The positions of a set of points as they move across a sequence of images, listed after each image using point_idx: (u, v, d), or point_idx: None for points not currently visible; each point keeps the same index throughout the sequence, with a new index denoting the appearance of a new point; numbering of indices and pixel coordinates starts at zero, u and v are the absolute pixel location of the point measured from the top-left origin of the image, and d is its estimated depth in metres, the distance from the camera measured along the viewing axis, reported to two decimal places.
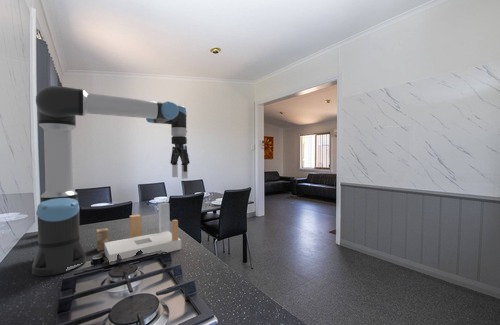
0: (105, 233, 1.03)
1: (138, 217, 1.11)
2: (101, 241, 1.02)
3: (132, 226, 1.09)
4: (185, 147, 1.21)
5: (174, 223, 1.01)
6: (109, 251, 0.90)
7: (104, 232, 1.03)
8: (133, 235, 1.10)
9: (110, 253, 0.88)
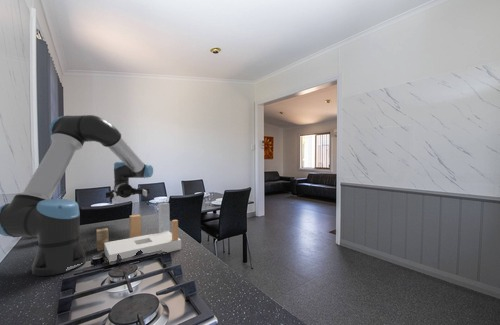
0: (105, 233, 1.03)
1: (138, 217, 1.11)
2: (101, 241, 1.02)
3: (132, 226, 1.09)
4: None
5: (174, 223, 1.01)
6: (109, 251, 0.90)
7: (104, 232, 1.03)
8: (133, 235, 1.10)
9: (110, 253, 0.88)
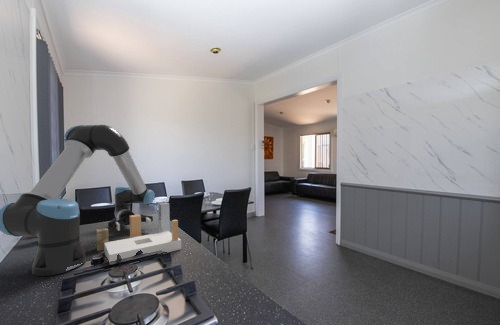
0: (105, 233, 1.03)
1: (138, 217, 1.11)
2: (101, 241, 1.02)
3: (132, 226, 1.09)
4: None
5: (174, 223, 1.01)
6: (109, 251, 0.90)
7: (104, 232, 1.03)
8: (133, 235, 1.10)
9: (110, 253, 0.88)
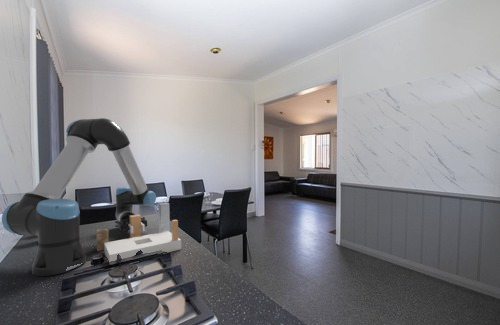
0: (105, 233, 1.03)
1: (138, 217, 1.11)
2: (101, 241, 1.02)
3: None
4: None
5: (174, 223, 1.01)
6: (109, 251, 0.90)
7: (104, 232, 1.03)
8: (133, 235, 1.10)
9: (110, 253, 0.88)
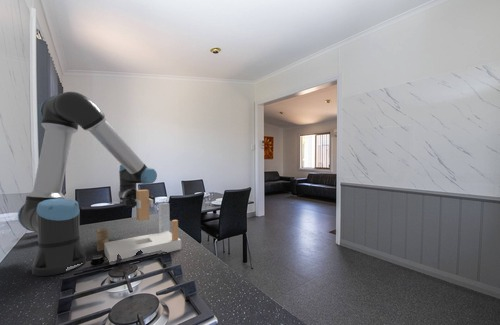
0: (105, 233, 1.03)
1: (146, 191, 1.00)
2: (101, 241, 1.02)
3: None
4: None
5: (174, 223, 1.01)
6: (109, 251, 0.90)
7: (104, 232, 1.03)
8: (140, 211, 0.99)
9: (110, 253, 0.88)
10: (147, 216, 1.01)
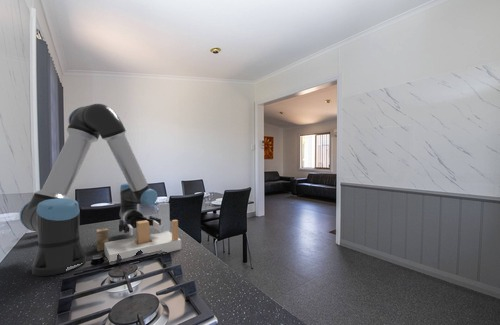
0: (105, 233, 1.03)
1: (146, 223, 1.00)
2: (101, 241, 1.02)
3: (139, 233, 0.98)
4: None
5: (174, 223, 1.01)
6: (109, 251, 0.90)
7: (104, 232, 1.03)
8: (140, 243, 0.98)
9: (110, 253, 0.88)
10: None
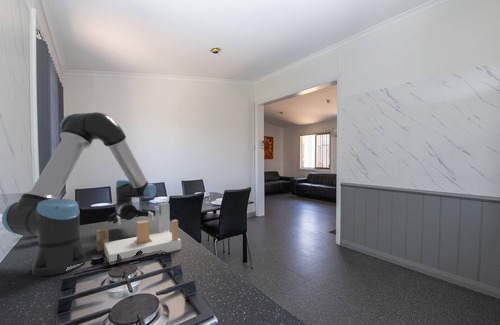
0: (105, 233, 1.03)
1: (146, 223, 1.00)
2: (101, 241, 1.02)
3: (139, 233, 0.98)
4: None
5: (174, 223, 1.01)
6: (109, 251, 0.90)
7: (104, 232, 1.03)
8: (140, 243, 0.98)
9: (110, 253, 0.88)
10: None
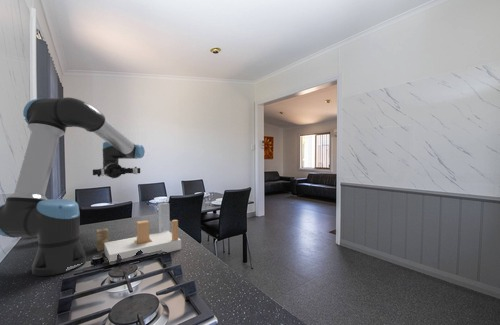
0: (105, 233, 1.03)
1: (146, 223, 1.00)
2: (101, 241, 1.02)
3: (139, 233, 0.98)
4: None
5: (174, 223, 1.01)
6: (109, 251, 0.90)
7: (104, 232, 1.03)
8: (140, 243, 0.98)
9: (110, 253, 0.88)
10: None
